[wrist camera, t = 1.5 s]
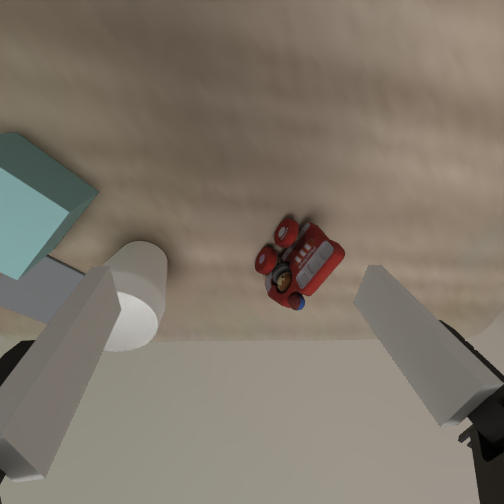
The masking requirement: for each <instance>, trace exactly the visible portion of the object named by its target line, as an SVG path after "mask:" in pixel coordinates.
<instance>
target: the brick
mask: <svg viewBox="0 0 504 504" xmlns="http://www.w3.org/2000/svg"><path fill="white" fill-rule="evenodd" d="M98 193H99V192H98V191H97V190H96V189H94V188H93V187H91V186H90V185H89V184H87V183H86V182H84V181H83V180H82V179H80V178H79V177H78V176H76V175H75V174H73V173H72V172H71V171H69V170H68V169H67V168H65V167H64V166H62V165H61V164H60V163H58V162H57V161H55V160H54V159H53V158H51V157H50V156H49V155H47V154H46V153H44V152H43V151H42V150H40V149H39V148H37V147H36V146H35V145H33V144H32V143H31V142H29V141H28V140H26V139H25V138H24V137H22V136H21V135H20V134H18V133H17V132H14V133H4V134H0V272H1V273H3V274H5V275H7V276H9V277H11V278H13V279H16V280H18V279H19V278H21V277H22V276H23V275H24V274H25V273H26V272H28V271H29V270H30V269H31V268H32V267H34V266H35V265H36V264H37V263H38V262H39V261H41V260H42V259H43V258H44V257H45V256H46V255H48V254H49V253H50V252H51V251H52V250H54V248H55V247H56V246H57V245H58V243H59V242H60V241H61V239H62V238H63V237H64V236H65V234H66V233H67V232H68V231H69V229H70V228H71V227H72V226H73V224H74V223H75V222H76V220H77V219H78V218H79V217H80V215H81V214H82V213H83V212H84V210H85V209H86V208H87V207H88V205H89V204H90V203H91V202H92V200H93V199H94V198H95V196H96V195H97V194H98Z"/></svg>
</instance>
